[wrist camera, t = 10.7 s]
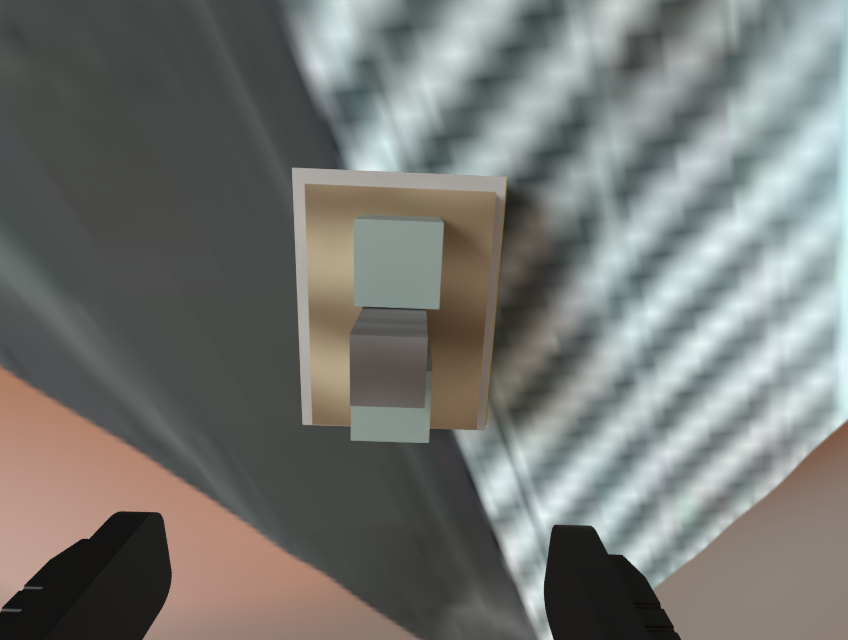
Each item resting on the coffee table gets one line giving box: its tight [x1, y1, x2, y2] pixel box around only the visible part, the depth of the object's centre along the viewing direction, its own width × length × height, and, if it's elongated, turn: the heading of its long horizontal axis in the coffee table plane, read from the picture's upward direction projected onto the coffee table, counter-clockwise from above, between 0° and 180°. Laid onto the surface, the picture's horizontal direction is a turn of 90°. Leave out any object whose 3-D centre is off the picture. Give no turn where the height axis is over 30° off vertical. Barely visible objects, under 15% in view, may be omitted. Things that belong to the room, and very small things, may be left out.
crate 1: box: [354, 214, 444, 309], centre depth 22 cm, size 4×4×4 cm
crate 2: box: [351, 344, 432, 443], centre depth 24 cm, size 4×4×4 cm
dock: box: [292, 168, 508, 430], centre depth 29 cm, size 12×16×4 cm
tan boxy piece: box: [305, 184, 496, 430], centre depth 22 cm, size 14×10×10 cm
